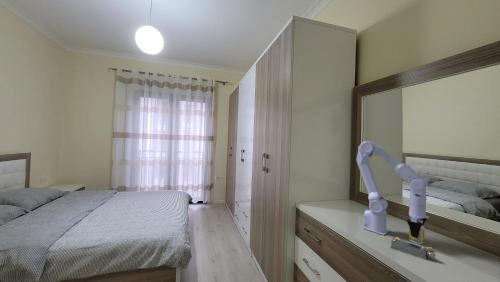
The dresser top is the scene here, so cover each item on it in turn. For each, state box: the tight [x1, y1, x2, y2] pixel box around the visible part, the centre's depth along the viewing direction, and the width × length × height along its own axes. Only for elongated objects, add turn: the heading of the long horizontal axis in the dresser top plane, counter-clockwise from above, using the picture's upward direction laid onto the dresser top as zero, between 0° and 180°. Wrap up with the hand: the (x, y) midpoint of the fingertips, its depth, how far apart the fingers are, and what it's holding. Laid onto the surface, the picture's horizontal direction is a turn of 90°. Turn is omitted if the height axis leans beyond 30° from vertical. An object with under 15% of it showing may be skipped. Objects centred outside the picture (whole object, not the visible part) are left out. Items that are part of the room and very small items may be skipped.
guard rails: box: [395, 236, 434, 252], centre depth 88 cm, size 12×8×1 cm, turn 43°
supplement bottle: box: [408, 219, 426, 245], centre depth 94 cm, size 5×5×10 cm
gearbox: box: [390, 237, 436, 260], centre depth 83 cm, size 13×4×3 cm, turn 43°
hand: (416, 234), depth 94 cm, fingers open, 7 cm apart
